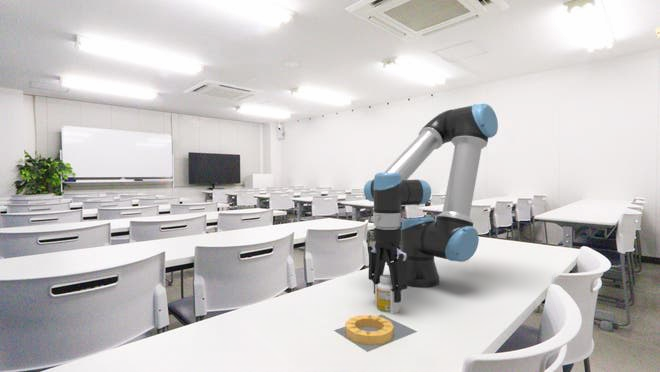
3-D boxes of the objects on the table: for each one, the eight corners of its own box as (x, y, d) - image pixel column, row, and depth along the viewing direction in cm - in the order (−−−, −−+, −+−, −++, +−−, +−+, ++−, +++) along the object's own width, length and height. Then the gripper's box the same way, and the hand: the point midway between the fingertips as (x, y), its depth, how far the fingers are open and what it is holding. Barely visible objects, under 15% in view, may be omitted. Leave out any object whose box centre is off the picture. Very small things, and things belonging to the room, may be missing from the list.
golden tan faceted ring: (336, 330, 78) (336, 322, 78) (370, 319, 85) (370, 311, 85) (367, 350, 69) (367, 340, 69) (402, 335, 76) (402, 327, 76)
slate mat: (333, 332, 78) (333, 330, 78) (381, 316, 88) (381, 314, 88) (367, 354, 69) (367, 351, 69) (417, 333, 78) (417, 331, 78)
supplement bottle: (383, 305, 95) (383, 272, 95) (400, 310, 92) (400, 276, 92) (373, 311, 91) (373, 276, 91) (390, 316, 88) (390, 280, 88)
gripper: (355, 224, 96) (355, 302, 97) (403, 233, 82) (402, 324, 82) (374, 223, 101) (374, 297, 101) (422, 230, 86) (421, 317, 86)
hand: (386, 309), depth 92 cm, fingers closed on supplement bottle, 5 cm apart
